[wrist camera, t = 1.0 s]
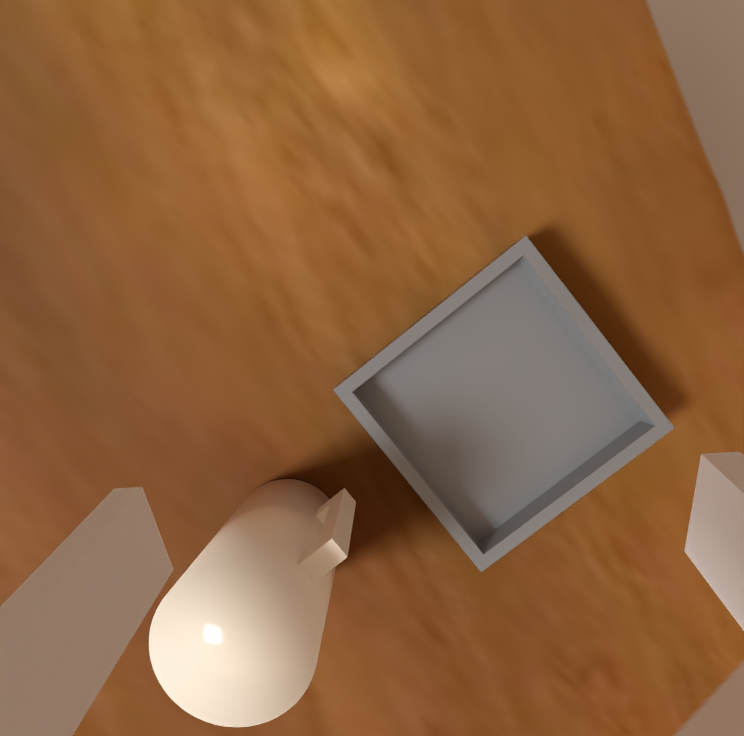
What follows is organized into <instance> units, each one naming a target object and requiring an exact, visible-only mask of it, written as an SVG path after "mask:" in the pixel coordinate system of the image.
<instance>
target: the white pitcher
mask: <svg viewBox="0 0 744 736" xmlns="http://www.w3.org/2000/svg"><path fill="white" fill-rule="evenodd" d="M355 506H356V501H355V500H354V499H353V498H352V497H351V495H350V494H349V493H348V492H347V490H346V489H345V488H344V489H342V490H341V491H340V492H339V493H337V494H336V495H335V496H334V497H332V498H331V499H329V498H328V497H327V496H326V494H324V493H323V492H322V491H321V490H320V489H318V488H316V487H315V486H313V485H311V484H309V483H306V482H303V481H300V480H294V479H279V480H275V481H271V482H268V483H265V484H264V485H262V486H260V487H258V488H257V489H255V490H254V491H253V492H252V493H251V494H250V495H249V496H248V497H247V498H246V499H245V500H244V502H243V503H242V504H241V505H240V506H239V508H238V509H237V510H236V511H235V512H234V514H233V515H232V516H231V517H230V518H229V520H228V521H227V522H226V523H225V525H224V526H223V527H222V528H221V529H220V531H219V532H218V533H217V534H216V535H215V537H214V538H213V539H212V540H211V541H210V543H209V544H208V545H207V546H206V547H205V549H204V550H203V551H202V552H201V554H200V555H199V556H198V557H197V558H196V560H195V561H194V562H193V563H192V564H191V566H190V567H189V568H188V569H187V570H186V572H185V573H184V574H183V575H182V576H181V578H180V579H179V580H178V581H177V583H176V584H175V585H174V586H173V587H172V589H171V590H170V591H169V592H168V593H167V595H166V596H165V597H164V598H163V600H162V601H161V603H160V605H159V606H158V608H157V610H156V612H155V615H154V617H153V620H152V624H151V627H150V634H149V652H150V659H151V663H152V666H153V670H154V672H155V674H156V677H157V679H158V681H159V682H160V684H161V686H162V688H163V689H164V690H165V692H166V693H167V694H168V696H169V697H170V698H171V699H172V700H173V701H174V702H175V703H176V704H177V705H178V706H180V707H181V708H182V709H183V710H185V711H186V712H188V713H189V714H191V715H193V716H194V717H196V718H199V719H201V720H203V721H205V722H209V723H212V724H215V725H220V726H225V727H248V726H253V725H259V724H262V723H265V722H268V721H270V720H272V719H274V718H276V717H278V716H280V715H282V714H283V713H285V712H286V711H288V710H289V709H290V708H291V707H292V706H293V705H295V704H296V702H297V701H298V700H299V699H300V698H301V697H302V696H303V694H304V693H305V691H306V690H307V688H308V686H309V684H310V682H311V680H312V678H313V675H314V672H315V669H316V664H317V659H318V654H319V649H320V644H321V639H322V634H323V629H324V624H325V619H326V614H327V609H328V604H329V599H330V594H331V589H332V584H333V579H334V574H335V569H336V566H337V565H338V564H339V563H341V562H342V561H343V560H344V559H346V558H347V557H348V551H349V544H350V538H351V531H352V525H353V519H354V512H355Z"/></svg>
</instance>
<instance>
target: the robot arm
mask: <svg viewBox="0 0 744 736" xmlns="http://www.w3.org/2000/svg"><path fill="white" fill-rule="evenodd" d="M685 553H686V554H687V555H688V557H689V558H690V559H691V561H692V562H693V563H694V565H695V566H696V567H697V569H698V570H699V571H700V573H701V574H702V575H703V577H704V578H705V580H706V581H707V582H708V584H709V585H710V586H711V588H712V589H713V590H714V592H715V593H716V594H717V596H718V597H719V598H720V600H721V601H722V602H723V604H724V605H725V606H726V608H727V609H728V610H729V612H730V613H731V614H732V616H733V617H734V618H735V620H736V621H737V622H738V624H739V625H740V626H741V628H742V629H743V630H744V455H743V454H741V453H740V452H727V453H710V454H701V458H700V464H699V470H698V476H697V482H696V487H695V493H694V499H693V505H692V511H691V516H690V522H689V528H688V534H687V540H686V545H685ZM173 570H174V569H173V567H172V564H171V562H170V559H169V556H168V554H167V551H166V548H165V546H164V543H163V540H162V538H161V535H160V533H159V530H158V527H157V525H156V522H155V519H154V517H153V514H152V511H151V509H150V506H149V504H148V501H147V498H146V496H145V493H144V490H143V488H142V487H134V488H117V489H113V490H112V491H111V493H110V494H109V495H108V496H107V497H106V498H105V499H104V500H103V501H102V502H101V503H100V504H99V505H98V506H97V507H96V508H95V509H94V510H93V511H92V512H91V513H90V514H89V515H88V516H87V517H86V518H85V519H84V521H83V522H82V523H81V524H80V525H79V526H78V527H77V528H76V529H75V530H74V531H73V532H72V533H71V534H70V535H69V536H68V537H67V538H66V539H65V540H64V541H63V542H62V543H61V544H60V545H59V546H58V547H57V549H56V550H55V551H54V552H53V553H52V554H51V555H50V556H49V557H48V558H47V559H46V560H45V561H44V562H43V563H42V564H41V565H40V566H39V567H38V568H37V569H36V570H35V571H34V572H33V573H32V574H31V575H30V576H29V578H28V579H27V580H26V581H25V582H24V583H23V584H22V585H21V586H20V587H19V588H18V589H17V590H16V591H15V592H14V593H13V594H12V595H11V596H10V597H9V598H8V599H7V600H6V601H5V602H4V603H3V604H2V606H1V607H0V736H72V735H73V734H74V732H75V730H76V729H77V727H78V725H79V724H80V722H81V720H82V719H83V717H84V716H85V714H86V712H87V711H88V709H89V707H90V706H91V704H92V702H93V701H94V699H95V698H96V696H97V694H98V693H99V691H100V689H101V688H102V686H103V684H104V683H105V681H106V679H107V678H108V676H109V675H110V673H111V671H112V670H113V668H114V666H115V665H116V663H117V661H118V660H119V658H120V657H121V655H122V653H123V652H124V650H125V648H126V647H127V645H128V643H129V642H130V640H131V638H132V637H133V635H134V634H135V632H136V630H137V629H138V627H139V625H140V624H141V622H142V620H143V619H144V617H145V615H146V614H147V612H148V611H149V609H150V607H151V606H152V604H153V602H154V601H155V599H156V597H157V596H158V594H159V593H160V591H161V589H162V588H163V586H164V584H165V583H166V581H167V579H168V578H169V576H170V574H171V573H172V571H173Z"/></svg>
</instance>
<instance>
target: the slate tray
mask: <svg viewBox="0 0 744 736" xmlns="http://www.w3.org/2000/svg"><path fill="white" fill-rule="evenodd" d="M334 391H335V393H336V394H337V395H338V396H339V398H340V399H341V400H342V401H343V403H344V404H345V405H346V406H347V407H348V409H349V410H350V411H351V412H352V414H353V415H354V416H355V417H356V419H357V420H358V421H359V422H360V423H361V425H362V426H363V427H364V428H365V430H366V431H367V432H368V433H369V435H370V436H371V437H372V438H373V440H374V441H375V442H376V443H377V444H378V446H379V447H380V448H381V449H382V451H383V452H384V453H385V454H386V456H387V457H388V458H389V459H390V460H391V462H392V463H393V464H394V465H395V467H396V468H397V469H398V470H399V472H400V473H401V474H402V475H403V476H404V478H405V479H406V480H407V481H408V483H409V484H410V485H411V486H412V488H413V489H414V490H415V491H416V493H417V494H418V495H419V496H420V497H421V499H422V500H423V501H424V502H425V504H426V505H427V506H428V507H429V509H430V510H431V511H432V512H433V513H434V515H435V516H436V517H437V518H438V520H439V521H440V522H441V523H442V525H443V526H444V527H445V528H446V529H447V531H448V532H449V533H450V534H451V536H452V537H453V538H454V539H455V541H456V542H457V543H458V544H459V546H460V547H461V548H462V549H463V550H464V552H465V553H466V554H467V555H468V557H469V558H470V559H471V560H472V562H473V563H474V564H475V565H476V566H477V568H478V569H479V570H480V571H481V572H482V571H483V570H485V569H486V568H487V567H489V566H490V565H491V564H493V563H494V562H495V561H497V560H498V559H500V558H501V557H502V556H504V555H505V554H506V553H508V552H509V551H510V550H512V549H513V548H514V547H516V546H517V545H518V544H520V543H521V542H522V541H524V540H525V539H526V538H528V537H529V536H530V535H532V534H533V533H534V532H536V531H537V530H538V529H540V528H541V527H542V526H544V525H545V524H546V523H548V522H549V521H550V520H552V519H553V518H554V517H556V516H557V515H559V514H560V513H561V512H563V511H564V510H565V509H567V508H568V507H569V506H571V505H572V504H573V503H575V502H576V501H577V500H579V499H580V498H581V497H583V496H584V495H585V494H587V493H588V492H589V491H591V490H592V489H593V488H595V487H596V486H597V485H599V484H600V483H601V482H603V481H604V480H605V479H607V478H608V477H609V476H611V475H612V474H613V473H615V472H616V471H618V470H619V469H620V468H622V467H623V466H624V465H626V464H627V463H628V462H630V461H631V460H632V459H634V458H635V457H636V456H638V455H639V454H640V453H642V452H643V451H644V450H646V449H647V448H648V447H650V446H651V445H652V444H654V443H655V442H656V441H658V440H659V439H660V438H662V437H663V436H664V435H666V434H667V433H668V432H670V431H671V430H672V429H674V427H673V425H672V424H671V423H670V421H669V420H668V419H667V418H666V416H665V415H664V414H663V412H662V411H661V410H660V408H659V407H658V406H657V405H656V403H655V402H654V401H653V399H652V398H651V397H650V396H649V394H648V393H647V392H646V390H645V389H644V388H643V386H642V385H641V384H640V383H639V381H638V380H637V379H636V377H635V376H634V375H633V373H632V372H631V371H630V370H629V368H628V367H627V366H626V364H625V363H624V362H623V360H622V359H621V358H620V357H619V355H618V354H617V353H616V351H615V350H614V349H613V348H612V346H611V345H610V344H609V342H608V341H607V340H606V338H605V337H604V336H603V335H602V333H601V332H600V331H599V329H598V328H597V327H596V325H595V324H594V323H593V322H592V320H591V319H590V318H589V316H588V315H587V314H586V313H585V311H584V310H583V309H582V307H581V306H580V305H579V303H578V302H577V301H576V300H575V298H574V297H573V296H572V294H571V293H570V292H569V290H568V289H567V288H566V287H565V285H564V284H563V283H562V281H561V280H560V279H559V277H558V276H557V275H556V274H555V272H554V271H553V270H552V268H551V267H550V266H549V265H548V263H547V262H546V261H545V259H544V258H543V257H542V255H541V254H540V253H539V252H538V250H537V249H536V248H535V246H534V245H533V244H532V242H531V241H530V240H529V239H528V237H527V236H525V237H523V238H522V239H520V240H519V241H517V242H516V243H514V244H513V245H512V246H511V247H509V248H508V249H507V250H506V251H504V252H503V253H502V254H501V255H499V256H498V257H497V258H496V259H494V260H493V261H492V262H491V263H489V264H488V265H487V266H486V267H484V268H483V269H482V270H481V271H479V272H478V273H477V274H476V275H474V276H473V277H472V278H471V279H469V280H468V281H467V282H466V283H464V284H463V285H462V286H461V287H459V288H458V289H457V290H456V291H454V292H453V293H452V294H451V295H449V296H448V297H447V298H446V299H444V300H443V301H442V302H441V303H439V304H438V305H437V306H436V307H434V308H433V309H432V310H431V311H429V312H428V313H427V314H426V315H424V316H423V317H422V318H421V319H419V320H418V321H417V322H416V323H414V324H413V325H412V326H411V327H409V328H408V329H407V330H406V331H404V332H403V333H402V334H401V335H399V336H398V337H397V338H396V339H394V340H393V341H392V342H391V343H389V344H388V345H387V346H386V347H384V348H383V349H382V350H381V351H379V352H378V353H377V354H376V355H374V356H373V357H372V358H371V359H369V360H368V361H367V362H366V363H365V364H363V365H362V366H361V367H360V368H358V369H357V370H356V371H355V372H353V373H352V374H351V375H350V376H348V377H347V378H346V379H345V380H343V381H342V382H341V383H340V384H338V385H337V386H336V387H335V388H334Z"/></svg>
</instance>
